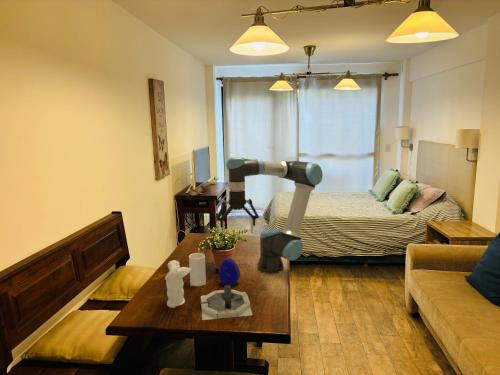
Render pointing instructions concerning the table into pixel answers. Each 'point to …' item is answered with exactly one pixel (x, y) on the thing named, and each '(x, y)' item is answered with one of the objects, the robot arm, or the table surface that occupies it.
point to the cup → (197, 269)
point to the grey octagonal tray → (214, 314)
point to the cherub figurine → (175, 283)
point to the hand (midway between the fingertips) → (238, 233)
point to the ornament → (229, 272)
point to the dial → (225, 300)
